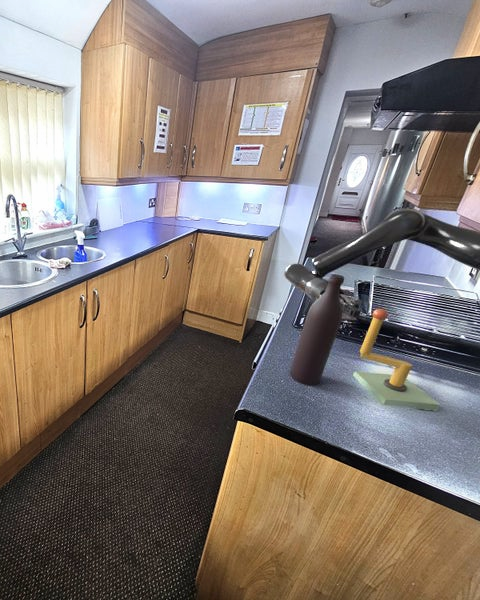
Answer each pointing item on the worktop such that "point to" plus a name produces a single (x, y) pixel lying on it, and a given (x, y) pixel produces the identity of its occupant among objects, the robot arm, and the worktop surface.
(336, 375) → the worktop surface
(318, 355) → the wine bottle
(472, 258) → the robot arm
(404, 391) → the stand
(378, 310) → the rod
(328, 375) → the worktop surface
